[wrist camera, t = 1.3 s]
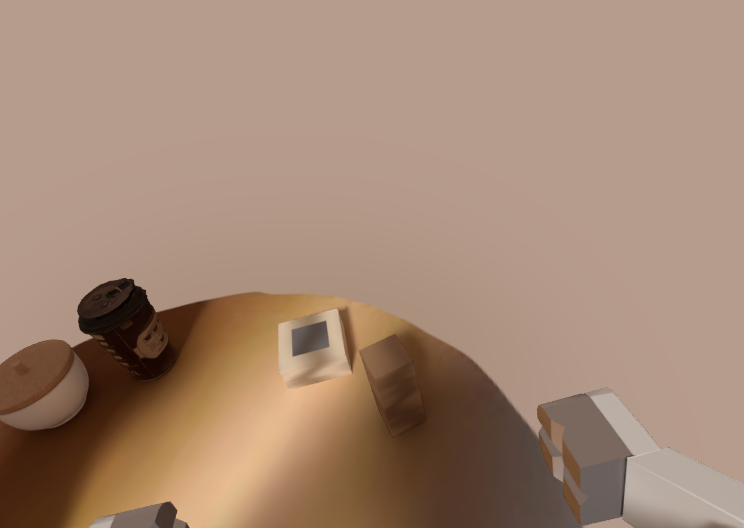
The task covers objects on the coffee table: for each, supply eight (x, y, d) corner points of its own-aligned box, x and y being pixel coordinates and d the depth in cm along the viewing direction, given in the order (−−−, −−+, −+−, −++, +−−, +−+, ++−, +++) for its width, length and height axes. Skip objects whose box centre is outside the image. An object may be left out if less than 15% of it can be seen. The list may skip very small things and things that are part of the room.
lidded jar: (87, 363, 66) (46, 319, 61) (116, 397, 60) (74, 351, 54) (11, 418, 61) (-42, 375, 55) (34, 462, 55) (-23, 419, 49)
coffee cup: (190, 333, 67) (146, 266, 59) (183, 377, 60) (133, 308, 52) (132, 350, 67) (80, 285, 59) (119, 396, 60) (58, 330, 52)
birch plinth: (289, 391, 55) (278, 371, 53) (287, 344, 62) (278, 323, 59) (352, 374, 56) (345, 353, 53) (344, 328, 62) (337, 308, 59)
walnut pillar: (393, 437, 48) (374, 379, 42) (378, 408, 51) (358, 350, 45) (426, 420, 48) (413, 361, 42) (409, 392, 52) (395, 333, 45)
